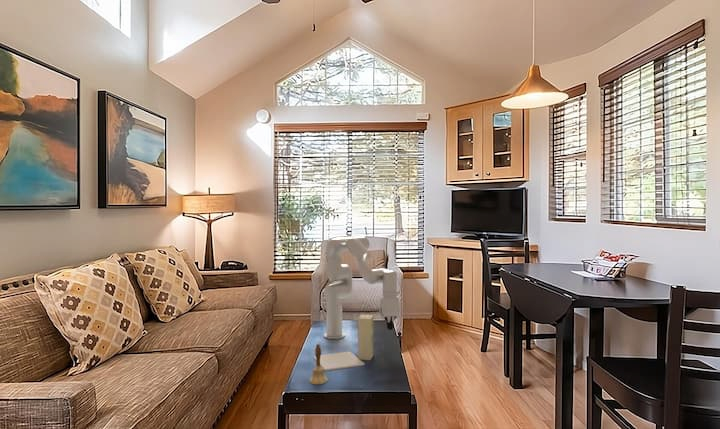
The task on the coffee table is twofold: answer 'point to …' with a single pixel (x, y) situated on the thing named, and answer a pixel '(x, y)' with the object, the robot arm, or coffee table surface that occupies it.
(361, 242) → the robot arm
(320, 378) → the hand bell
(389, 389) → the coffee table surface
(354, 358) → the sheet of paper
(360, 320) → the toy refrigerator
